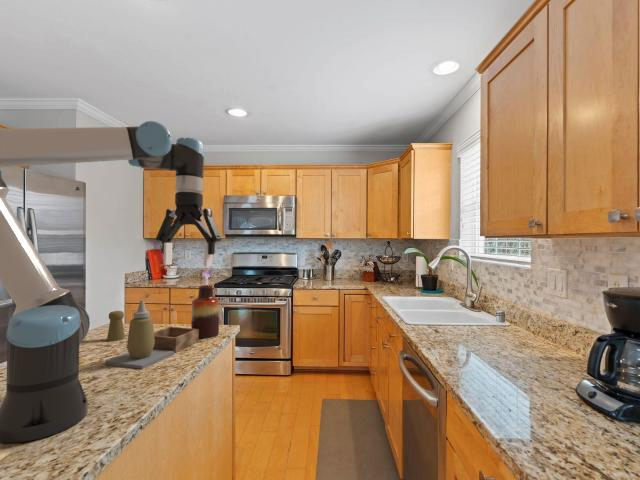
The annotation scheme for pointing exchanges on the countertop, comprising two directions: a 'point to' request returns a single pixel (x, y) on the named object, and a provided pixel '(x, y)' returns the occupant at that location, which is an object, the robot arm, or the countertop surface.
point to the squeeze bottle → (141, 334)
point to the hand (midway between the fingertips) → (187, 265)
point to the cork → (116, 326)
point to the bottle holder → (175, 338)
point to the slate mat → (139, 359)
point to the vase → (205, 313)
